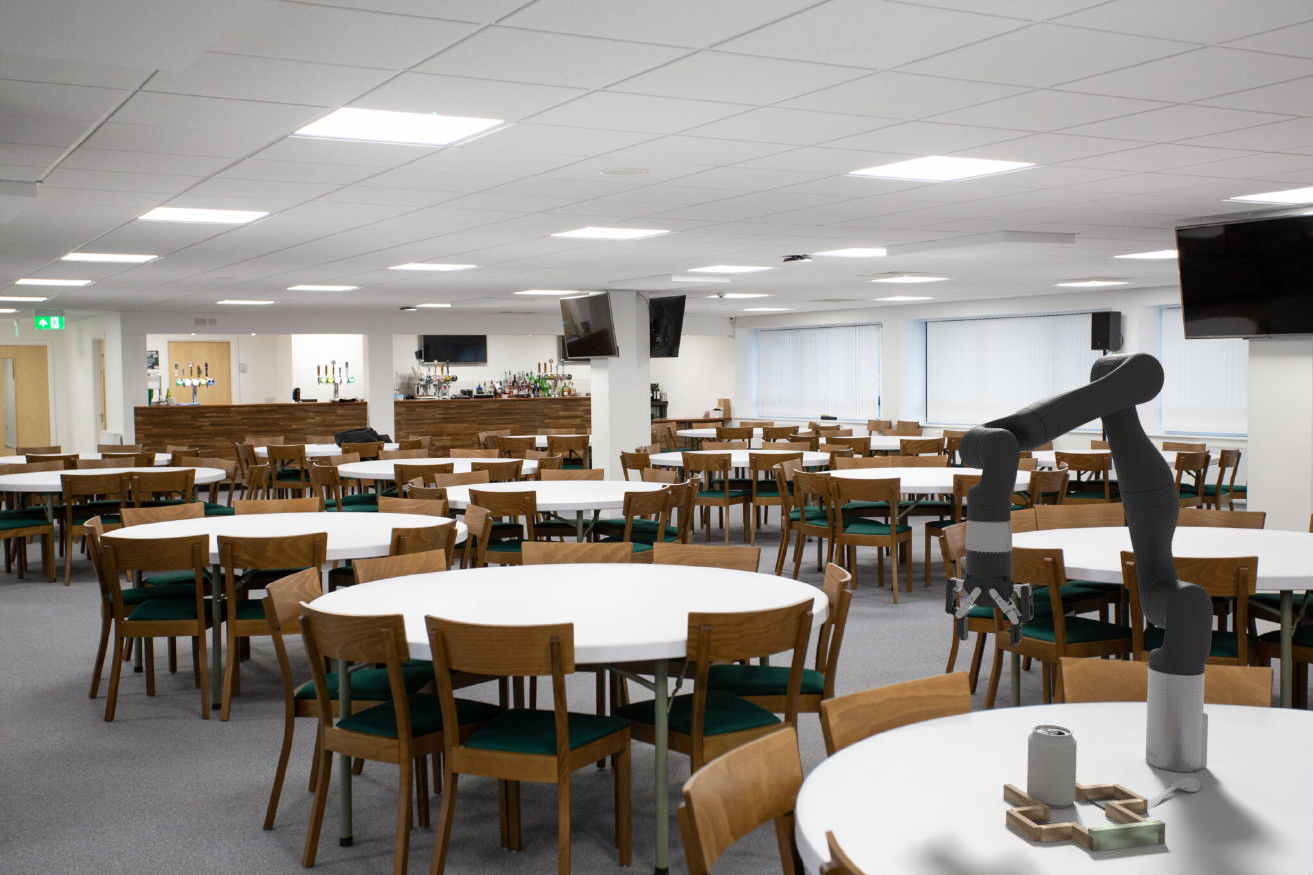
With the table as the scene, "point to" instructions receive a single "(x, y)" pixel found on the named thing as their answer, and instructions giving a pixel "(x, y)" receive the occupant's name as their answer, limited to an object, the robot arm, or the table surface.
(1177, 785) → the spoon
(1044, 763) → the can
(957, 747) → the table surface
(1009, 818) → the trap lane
